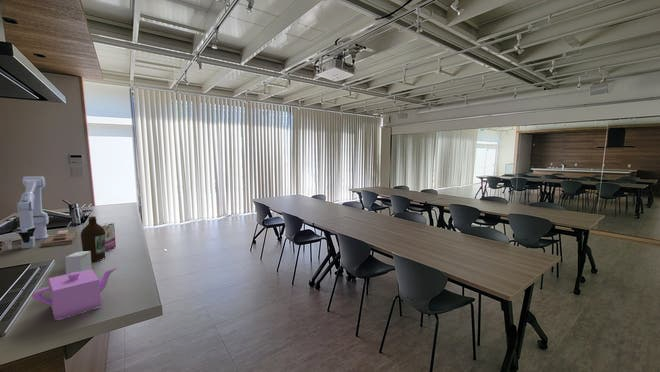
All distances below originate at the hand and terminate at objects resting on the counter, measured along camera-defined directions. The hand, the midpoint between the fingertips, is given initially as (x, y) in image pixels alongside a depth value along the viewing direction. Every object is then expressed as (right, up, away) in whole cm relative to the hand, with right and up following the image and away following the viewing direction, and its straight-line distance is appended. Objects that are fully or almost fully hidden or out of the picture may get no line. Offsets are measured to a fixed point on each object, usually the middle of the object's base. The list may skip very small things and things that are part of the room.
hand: (28, 241), depth 173 cm
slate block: (0, -4, 0) cm, 4 cm away
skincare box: (+77, -11, -47) cm, 91 cm away
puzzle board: (+7, -3, +14) cm, 16 cm away
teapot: (+93, -13, -65) cm, 114 cm away
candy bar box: (+50, -6, -1) cm, 51 cm away
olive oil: (+57, -7, -17) cm, 60 cm away
